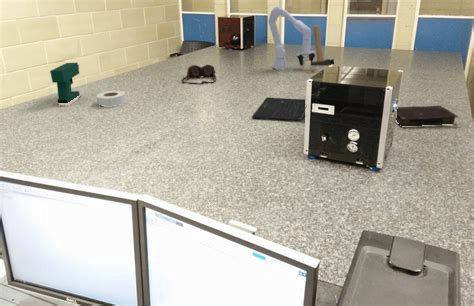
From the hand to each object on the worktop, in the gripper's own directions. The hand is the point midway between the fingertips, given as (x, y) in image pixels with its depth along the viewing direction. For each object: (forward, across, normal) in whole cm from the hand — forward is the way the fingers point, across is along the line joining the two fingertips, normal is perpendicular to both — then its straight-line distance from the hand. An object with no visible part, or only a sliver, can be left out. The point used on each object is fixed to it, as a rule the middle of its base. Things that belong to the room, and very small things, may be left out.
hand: (305, 64), depth 287 cm
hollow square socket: (+3, 0, 0) cm, 3 cm away
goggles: (+4, -77, +12) cm, 78 cm away
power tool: (+4, -158, +8) cm, 158 cm away
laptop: (+5, -54, -76) cm, 94 cm away
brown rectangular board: (+4, 0, -5) cm, 6 cm away
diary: (+5, -10, -116) cm, 117 cm away
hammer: (+4, +17, +7) cm, 19 cm away
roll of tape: (+4, -138, -15) cm, 139 cm away
